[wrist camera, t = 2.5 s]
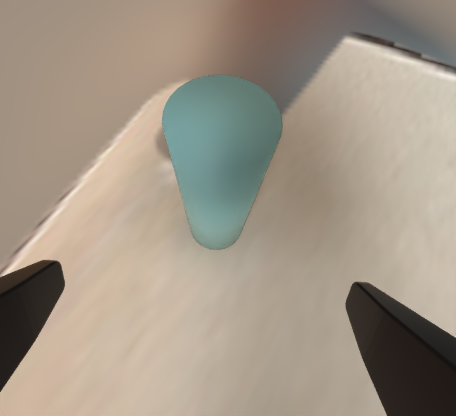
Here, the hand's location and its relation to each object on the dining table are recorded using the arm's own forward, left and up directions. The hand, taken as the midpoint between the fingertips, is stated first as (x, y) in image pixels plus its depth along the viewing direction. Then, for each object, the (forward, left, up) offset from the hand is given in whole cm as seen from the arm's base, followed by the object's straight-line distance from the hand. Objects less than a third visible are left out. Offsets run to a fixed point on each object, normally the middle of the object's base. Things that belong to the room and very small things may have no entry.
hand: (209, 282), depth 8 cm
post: (+5, +3, -12) cm, 14 cm away
